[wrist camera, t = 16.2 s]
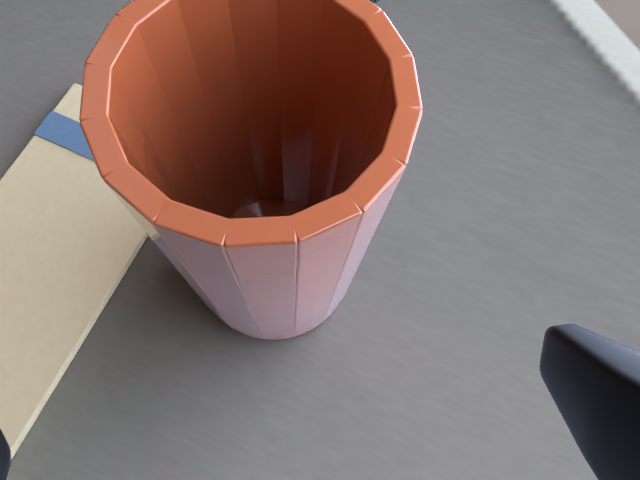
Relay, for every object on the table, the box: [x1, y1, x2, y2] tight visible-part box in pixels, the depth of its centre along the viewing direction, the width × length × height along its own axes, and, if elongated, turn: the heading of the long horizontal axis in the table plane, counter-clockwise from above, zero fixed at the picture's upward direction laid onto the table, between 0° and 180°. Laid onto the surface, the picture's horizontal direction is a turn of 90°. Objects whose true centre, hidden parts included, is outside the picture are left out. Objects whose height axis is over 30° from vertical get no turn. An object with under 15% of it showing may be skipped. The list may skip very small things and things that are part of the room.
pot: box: [79, 0, 423, 340], centre depth 15 cm, size 7×7×12 cm
